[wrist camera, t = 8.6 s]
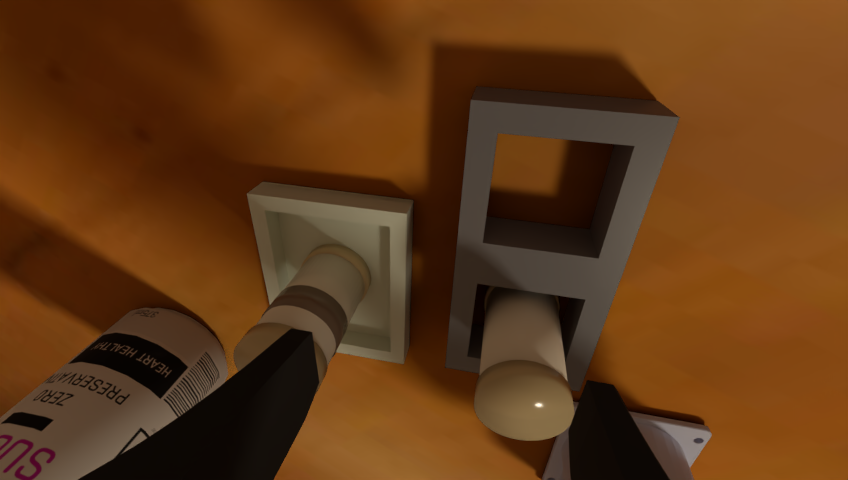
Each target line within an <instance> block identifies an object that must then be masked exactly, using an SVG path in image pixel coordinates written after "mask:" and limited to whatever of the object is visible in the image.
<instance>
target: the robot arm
mask: <svg viewBox="0 0 848 480" xmlns="http://www.w3.org/2000/svg"><path fill="white" fill-rule="evenodd" d="M318 385H319V376H318V369H317V362H316V355H315V348H314V341H313V334H312V332H310V331H304V330H298V329H293V328H291V329H290V330H288V331H287V332H286V333H285V334H283V335H282V336H281V337H280V338H279V339H277V340H276V341H275V342H274V343H273V344H271V345H270V346H269V347H268V348H267V349H265V350H264V351H263V352H262V353H261V354H259V355H258V356H257V357H256V358H255V359H253V360H252V361H251V362H250V363H249V364H247V365H246V366H245V367H244V368H242V369H241V370H240V371H239V372H237V373H236V374H235V375H234V376H232V377H231V378H230V379H229V380H227V381H226V382H225V383H224V384H222V385H221V386H220V387H218V388H217V389H216V390H215V391H213V392H212V393H211V394H209V395H208V396H206V397H205V398H204V399H202V400H201V401H200V402H198V403H197V404H196V405H194V406H193V407H192V408H190V409H189V410H187V411H186V412H185V413H183V414H182V415H181V416H179V417H178V418H176V419H175V420H173V421H172V422H170V423H169V424H168V425H166V426H165V427H163V428H162V429H160V430H159V431H157V432H156V433H154V434H153V435H151V436H149V437H148V438H146V439H145V440H143V441H142V442H140V443H139V444H137V445H135V446H134V447H132V448H131V449H129V450H127V451H126V452H124V453H122V454H121V455H119V456H117V457H116V458H114V459H112V460H111V461H109V462H107V463H105V464H104V465H102V466H100V467H98V468H97V469H95V470H93V471H91V472H90V473H88V474H86V475H85V476H83V477H81V478H79V479H78V480H274V478H275V476H276V474H277V472H278V470H279V468H280V466H281V464H282V463H283V461H284V459H285V457H286V455H287V453H288V451H289V449H290V447H291V445H292V444H293V442H294V440H295V438H296V436H297V434H298V432H299V430H300V428H301V426H302V424H303V422H304V420H305V418H306V416H307V413H308V411H309V408H310V406H311V403H312V401H313V398H314V396H315V393H316V390H317V388H318ZM573 405H574V417H573V419H572V422H571V425H570V426H569V427H568V428H567V429H566V430H565V431H564V432H562V433H561V434H559V435H557V437H556V440H555V443H554V445H553V448H552V451H551V454H550V457H549V460H548V462H547V465H546V468H545V471H544V474H543V477H542V480H694V478H693V476H692V473H691V470H690V467H691V465H692V464H693V462H694V461H695V459H696V458H697V456H698V455H699V453H700V452H701V451H702V449H703V448H704V446H705V445H706V443H707V442H708V440H709V439H710V437H711V435H712V434H711V432H710V430H709V428H708V427H707V426H705V425H701V424H695V423H690V422H685V421H679V420H674V419H668V418H663V417H657V416H652V415H646V414H641V413H635V412H630V411H628V409H627V407H626V405H625V404H624V402H623V400H622V398H621V397H620V395H619V393H618V391H617V389H616V388H615V387H614V385H612V384H606V383H600V382H594V381H589V380H587V382H586V384H585V387H584V390H583V393H582V395H581V398H580V401H579V402H573Z"/></svg>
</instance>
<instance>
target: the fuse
mask: <svg viewBox="0 0 848 480" xmlns="http://www.w3.org/2000/svg"><path fill="white" fill-rule="evenodd" d="M484 308H485V321H484V332H483V342H482V352H481V363H480V373H479V378H478V380H477V382H476V388H475V398H474V409H475V412H476V414H477V416H478V418H479V419H480V421H481V422H482V423H483V424H484V425H485V426H487V427H488V428H489V429H491V430H492V431H494V432H496V433H498V434H500V435H502V436H505V437H508V438H512V439H517V440H525V441H537V440H544V439H549V438H552V437H555V436H557V435H559V434H561V433H562V432H564V431H565V430H566V429H567V428H568V427H569V426H570V425H571V422H572V419H573V417H574V405H573V398H572V391H571V388H570V385H569V383H568V380H567V373H566V365H565V357H564V350H563V342H562V335H561V327H560V319H559V310H560V304H559V296H558V295H551V294H544V293H537V292H531V291H524V290H517V289H510V288H504V287H497V286H490V285H488V286H487V288H486V292H485V302H484Z"/></svg>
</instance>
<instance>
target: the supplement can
mask: <svg viewBox="0 0 848 480" xmlns="http://www.w3.org/2000/svg"><path fill="white" fill-rule="evenodd" d="M227 376H228V370H227V362H226V358H225V352H224V350H223V348H222V347H221V345H220V343H219V341H218V340H217V339H216V338H215V336H214V335H213V334H212V333H211V332H210V331H209V330H208V329H207V328H206V327H204V326H203V325H202V324H200V323H199V322H197V321H196V320H194V319H193V318H191V317H189V316H187V315H184V314H182V313H180V312H177V311H175V310H170V309H163V308H153V309H152V308H141V309H136V310H131V311H130V312H128V313H127V314H126V315H125V316H124V317H122V318H121V319H120V320H119V321H117V322H116V323H115V324H114V325H113V326H111V327H110V328H109V329H108V330H107V331H105V332H104V333H103V334H102V335H100V336H99V337H98V338H97V339H96V340H94V341H93V342H92V343H91V344H90V345H88V346H87V347H86V348H85V349H83V350H82V351H81V352H80V353H79V354H77V355H76V356H75V357H74V358H72V359H71V360H70V361H69V362H68V363H66V364H65V365H64V366H63V367H62V368H60V369H59V370H58V371H57V372H55V373H54V374H53V375H52V376H51V377H49V378H48V379H47V380H46V381H45V382H43V383H42V384H41V385H40V386H38V387H37V388H36V389H35V390H34V391H32V392H31V393H30V394H29V395H28V396H26V397H25V398H24V399H23V400H21V401H20V402H19V403H18V404H17V405H15V406H14V407H13V408H12V409H11V410H9V411H8V412H7V413H6V414H4V415H3V416H2V417H1V418H0V480H78V479H79V478H81V477H83V476H85V475H86V474H88V473H90V472H91V471H93V470H95V469H97V468H98V467H100V466H102V465H104V464H105V463H107V462H109V461H111V460H112V459H114V458H116V457H117V456H119V455H121V454H122V453H124V452H126V451H127V450H129V449H131V448H132V447H134V446H135V445H137V444H139V443H140V442H142V441H143V440H145V439H146V438H148V437H149V436H151V435H153V434H154V433H156V432H157V431H159V430H160V429H162V428H163V427H165V426H166V425H168V424H169V423H170V422H172V421H173V420H175V419H176V418H178V417H179V416H181V415H182V414H183V413H185V412H186V411H187V410H189V409H190V408H192V407H193V406H194V405H196V404H197V403H198V402H200V401H201V400H202V399H204V398H205V397H206V396H208V395H209V394H211V393H212V392H213V391H215V390H216V389H217V388H218V387H220V386H221V385H222V384H224V382H225V380H226V378H227Z"/></svg>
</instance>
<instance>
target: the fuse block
mask: <svg viewBox="0 0 848 480" xmlns="http://www.w3.org/2000/svg"><path fill="white" fill-rule="evenodd" d="M679 118H680V117H678V116H677V115H676V114H674V113H673V112H672V111H671V110H669V109H668V108H667V107H665V106H664V105H663V104H661V103H660V102H659V101H654V100H642V99H629V98H617V97H604V96H591V95H579V94H566V93H554V92H541V91H528V90H516V89H503V88H491V87H478V86H477V87H476V89H475V91H474V94H473V96H472V98H471V103H470V114H469V124H468V134H467V145H466V155H465V166H464V176H463V186H462V197H461V207H460V217H459V228H458V238H457V249H456V259H455V269H454V280H453V290H452V300H451V311H450V321H449V332H448V342H447V352H446V363H445V368H451V369H457V370H462V371H468V372H473V373H480V363H481V352H482V342H483V332H484V326H481V325H475V324H472V318H473V311H474V304H475V296H476V289H477V284H483V285H490V286H497V287H504V288H510V289H517V290H524V291H531V292H537V293H544V294H551V295H558V296H564V297H570V298H569V302H568V305H567V308H566V312H565V315H564V319H563V322H562V326H561V335H562V342H563V350H564V357H565V365H566V373H567V380H568V383H569V385H570V388H571V390H573V391H580V389H581V386H582V383H583V380H584V378H585V375H586V372H587V369H588V367H589V364H590V361H591V358H592V356H593V353H594V350H595V348H596V345H597V342H598V339H599V337H600V334H601V331H602V328H603V326H604V323H605V320H606V317H607V315H608V312H609V309H610V306H611V304H612V301H613V298H614V296H615V293H616V290H617V287H618V285H619V282H620V279H621V276H622V274H623V271H624V268H625V265H626V263H627V260H628V257H629V254H630V252H631V249H632V246H633V244H634V241H635V238H636V235H637V233H638V230H639V227H640V224H641V222H642V219H643V216H644V213H645V211H646V208H647V205H648V202H649V200H650V197H651V194H652V191H653V189H654V186H655V183H656V181H657V178H658V175H659V172H660V170H661V167H662V164H663V161H664V159H665V156H666V153H667V150H668V148H669V145H670V142H671V139H672V137H673V134H674V131H675V129H676V126H677V123H678V120H679ZM498 133H503V134H513V135H524V136H534V137H545V138H555V139H566V140H576V141H587V142H597V143H608V144H614V148H613V151H612V154H611V158H610V161H609V165H608V168H607V171H606V175H605V178H604V182H603V185H602V189H601V192H600V195H599V199H598V202H597V206H596V209H595V213H594V216H593V219H592V223H591V226H590V229H584V228H576V227H568V226H560V225H552V224H544V223H536V222H528V221H520V220H512V219H504V218H496V217H488V216H486V215H487V208H488V200H489V193H490V185H491V178H492V171H493V163H494V156H495V149H496V141H497V134H498Z"/></svg>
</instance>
